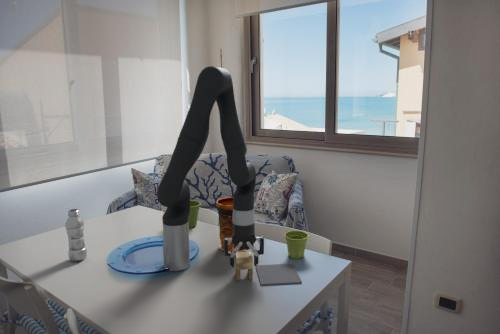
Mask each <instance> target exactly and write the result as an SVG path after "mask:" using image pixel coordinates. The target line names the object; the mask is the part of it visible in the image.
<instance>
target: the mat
mask: <svg viewBox="0 0 500 334" xmlns="http://www.w3.org/2000/svg"><path fill="white" fill-rule="evenodd" d="M255 270H256V272H257V277H258V281H259V284H260V286H277V285H278V286H279V285H293V284H294V285H295V284H302V283H303V281H302V279H301V277H300V276H299V274H298V271H297V269H296V267H295V265H294V263H278V264H262V265H260V264H258V265H257V266H255Z"/></svg>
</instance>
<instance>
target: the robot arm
mask: <svg viewBox="0 0 500 334" xmlns="http://www.w3.org/2000/svg"><path fill="white" fill-rule="evenodd" d="M234 92H235V91H234V85H233V78H232V75H231V73H230V72H229V71H228V70H227V69H226V68H224V67H220V66H211V65H209V66H207V67H204V68H203V69H202V70H201V71H200V73H199V75H198V77H197V80H196V83H195V88H194V92H193V96H192V100H191V103H190V107H189V109H188V112H187V114H186V117H185V120H184V122H183V125H182V127H181V129H180V132H179V135H178V137H177V141H176V144H175V146H174V149H173V152H172V154H171V158H170V161H169V163H168V166H167V168H166V171H165V173H164V175H163V176H162V179H161V181H160V183H158V184H159V185H158V187H157V190H156V197H157V201H158V202H159V204H160V205H161V206H163V207H164V208H165V207H166V210H165V211H164V213H163V214H162V234H163V235H162V236H163V244H162V251H163V252H162V254H163V256H162V257H163V269H164V268H168V269H169V270H168V271H171V272H181V271H184V270H186V269H189V268H190V267H191V266H190V265H191V257H190V256H191V254H190V253H191V252H190V233H189V232H190V231H189V230H190V228H189V225H188V216H189V213H190V200H191V189H190V186H189V183H188V181H186V177H187V175H188V174H189V173H190V171H191V169H192V168H193V167H194V165H195V164H196V162H198V160H199V158H200V157H201V155H202V153H203V151H204V149H205V146H206V143H207V142H208V138H209V134H210V122H211V121H210V120H211V119H210V118H211V113H212V110H213V107H214V106H215V104H216V105H217V109H218V114H219V131H220V136H221V137H220V138H221V140H222V145H223V149H224V151H225V154H226V165H227V172H228V177H229V178H230V180H231V181H230V182H232V183H233V184H234V185H235V186H236V187H235V188H236V189H235V191H234V192H233V196H232V197H233V218H232V220H233V237H232V238H227V237H225V238H224V250H223V251H224V256H225V257H229V265H230V266H231V268H235V256H236V253H237V251H238V250H244V249H245V250H246V251H249V250H250V252H251V253H253V266H254V267H256V266H257V265H259V256H260V255H264V253H265V238H264V236H263V235H260V236H256V230H255V229H256V228H255V225H256V224H255V222H256V221H255V218H256V217H255V203H254V201H255V199H254V194H255V190H256V189H255V188H256V183H257V182H256V180H257V172H256V171H257V170H256V168H255V166H254V165H253V164H252V163H251V162H249V161H247V159H246V154H247V150H248V149H247V145H246V141H245V139H244V134H243V131H242V128H241V124H240V120H239V115H238V111H237V106H236V99H235V93H234ZM230 242H232V243H233V244H234V246H233V248H232V250H231V252H229V251H228V245H230ZM256 242H257V243H258V244H259V249H257V248H256V247H255V245H254V244H255V243H256Z"/></svg>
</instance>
